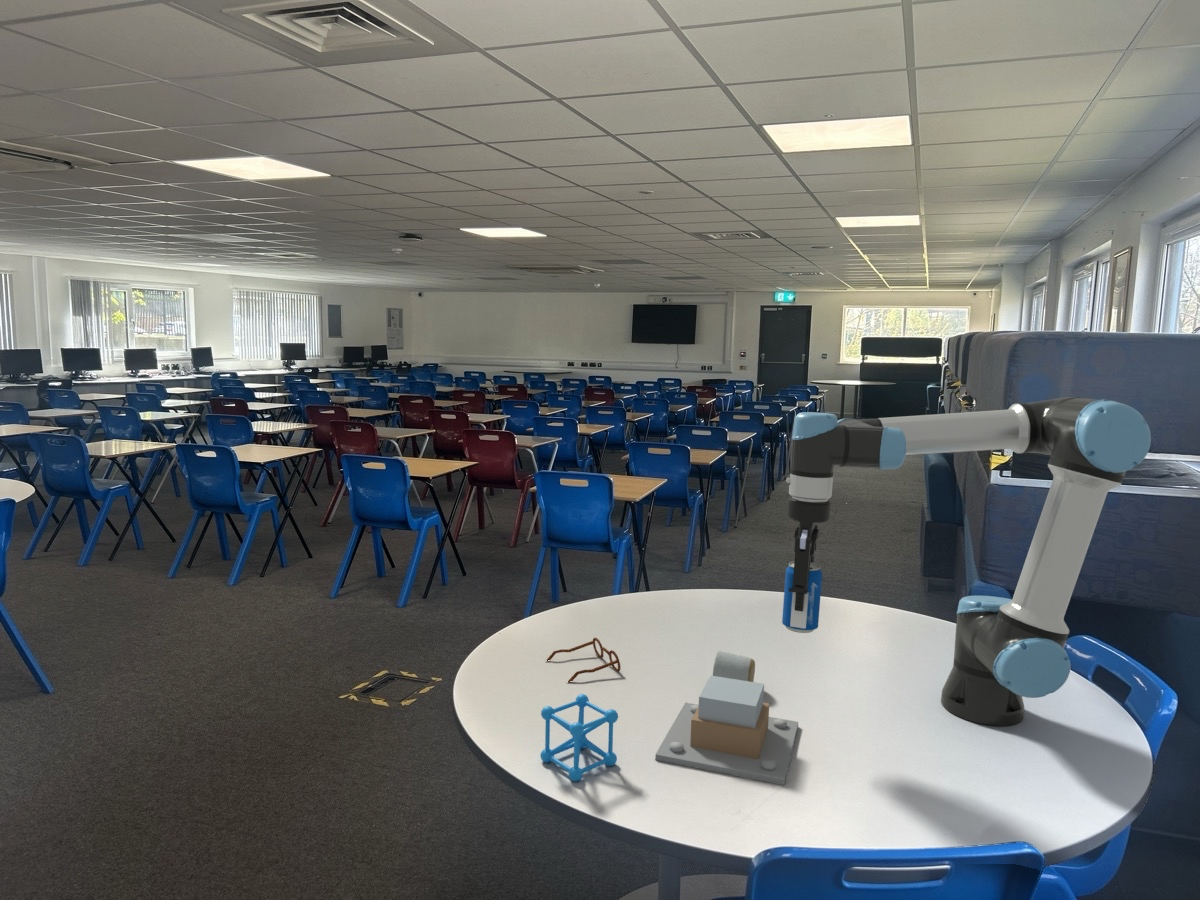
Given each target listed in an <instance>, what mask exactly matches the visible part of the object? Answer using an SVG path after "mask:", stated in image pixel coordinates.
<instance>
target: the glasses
mask: <svg viewBox="0 0 1200 900" xmlns="http://www.w3.org/2000/svg"><path fill="white" fill-rule="evenodd" d="M596 642H597V644H598V646H599V648H600V653H599V652H598V650H597V645H596ZM591 645H593V650H594V652H595V654H596V656H597V655H598V656H597V657H599V656H600V657H601V658H600V657H599V658H600V659H602V658H604V652H605V653H606V654H607V655H608V657H609V658H608V659H609V662H607V663H605V664H602V665H599V666H597V667H594V668H590V669H582V670H581V669H580V670H578V671H575V673H574V674H573V675H572V676H571V677H569V679H568V680H567V681H568V682H570V681H572V682H573V681H574V680H575V679H576V678H577V677H578V675H581V674H585V673H586V674H587V673H589V674H590V673H594V672H598V671H600V670H603V669H605V668H608V667H612V668H614V669H613V670H615V671H616V672H617V671H618V672H621V662H620V659H619V656H618V654H617V653H616V652H615V651H614V650H608V649H607V648H606V647H604V646H603V645H602V643H601V641H600V639H599V638H598V637H593V639H592V640H591V641H588V642H585V643H582V644H580V645H578V646H574V647H571V648H569V649H568V648H567V649H563V648H562V649H557V650H553V652H552V653H551V654H550V655H549V657H547V659H546V660H547V661H548V660H550V661H551V660H552V659H553V658H554V656H555V655H556V654H559V653H571V652H574V651H577V650H580V649H583V648H585V647H588V646H591ZM612 655H613V656H614V657H615V660H613V658H612ZM615 664H617V667H616V666H615Z"/></svg>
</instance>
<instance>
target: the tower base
mask: <svg viewBox="0 0 1200 900" xmlns="http://www.w3.org/2000/svg"><path fill="white" fill-rule="evenodd" d="M764 693H765V684H764V683H761V682H754V681H753V682H749V681H743V680H736V679H730V678H724V677H717V676H713V675H710V676H709V678H708V679H707V681H706V684H705V685H704V686H703V689H702V690H701V692H700V694H699V696H698V704H696V703H691V702H685V703H683V706H682V707H681V709H680V711H679V713H678V714H677V716H676V718H675V720H674V721H673V723H672V725H671V727H670V729H669V730H668V732H667V733H666V735H665V737H664V738H663V741H662V742H661V744H660V746H659V748H658V749H657V751H656V753H655V761H660V762H666V763H671V764H675V765H681V766H686V767H689V768H696V769H700V770H706V771H711V772H715V773H721V774H727V775H730V776H735V777H741V778H746V779H752V780H755V781H761V782H767V783H771V784H776V785H779V786H780V785H782V786H785V784H786V783H785V782H786V779H787V774H788V771H789V766H790V762H791V758H792V754H793V750H794V744H795V741H796V738H797V737H796V736H797V732H798V728H799V721H795V720H791V719H784V718H779V717H778V718H777V717H773V716H770V714H769V713H770V703H769V702H764V699H765V697H764V695H765V694H764Z"/></svg>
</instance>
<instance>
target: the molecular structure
mask: <svg viewBox="0 0 1200 900" xmlns="http://www.w3.org/2000/svg"><path fill="white" fill-rule="evenodd" d="M575 706H577V707H579V709H578V721H577V722H573V723H570V722H568V721H567V720H565V719H563V718H561V716H558V715H556V714H555V713H559V712H562V711H564V710H567V709H569V708H572V707H575ZM586 707H588V708H590V709H592V710H594V711H596V712H597V713H600V714H602V715H603V716H602V717H600V718H597V719H595V720H591V721H589V722H586V723H585V722H584V721H585V708H586ZM540 715H541V718H542V719H543V720H545V727H544V728H545V731H544V733H545V734H544V735H545V737H544V738H545V740H544V741H545V743H544V747H545V748H543V750H541V752H540V755H539V756H540V760H541V761H542V762H543V763H547V764H549V763H551V762H552V763H554V764H556V765H558V767H561V768H562V769H563V770H564V771H566V772H568V777H569V779H570V780H571V781H572V782H579V781H580V780H582V779H583V775H584V773H586V772H589V771H592V770H593V769H596V768H597V767H600V766H602V765H606V766H608V767H612V766H614V765H616V763H617V761H618V758H617V757H618V756H617V754H616V753H615V752H614V750H613V748H614V747H613V743H614V741H613V740H614V724H615V723H616V722H617V721H618V719H619V714H618V712H617V710H615V709H613V708H610V709H607V710H605V709H603V708H601V707H600V706H597V705H596V704H594V703H592V702H590V701H589V697H588V696H587V694H584V693H579V694H578V695H576V697H575V701H571V702H568V703H565V704H562V705H560V706H558V707H554V708H553V706H550V705H546V706H544V707H543V708H542V709H541V712H540ZM551 720H553V721H554V722H555V723H557V725H560V726H561V727H562V728H563V729H565V730H566V731H568V732H569V734H570V735H571V738H569V739H567V740H565V741H564V742H562V743H561V744H560V745H558V746H556V747H554V748H553V749H551V748H550V736H551V735H550V732H551V729H550V727H551ZM606 723H608V740H607V741H608V746H607V747H608V751H607V752H606V751H604V750H602V749H601V748H600V747H598V746H597V745H596V744H595V743H593V742H591V741H590V740H589V739H588V738H587V736H586V735H587V734H589V733H590V732H592V731H593V730H595V729H598V728H599V727H600V726H602V725H604V724H606ZM572 748H573V766H572V767H570V766H568V764H566V763H564V762H562V761H561V760H559V759H558V758H556V757H555V755H558V754H560V753H562V752H565V751H567V750H570V749H572ZM585 748H587V749H588V750H590V751H592V752H594V753H595V754H597V755H599V756H600V757H602V758H603V759H601V760H599V761H598V760H597V762H593V763H592V764H589V765H587V766H585V767H580V766H579V765H580V756H581V755H580V754H581V753H580V752H581V750H583V749H585Z"/></svg>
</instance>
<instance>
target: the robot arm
mask: <svg viewBox="0 0 1200 900" xmlns="http://www.w3.org/2000/svg"><path fill="white" fill-rule="evenodd" d="M837 416H838V415H836V414H834V413H828V412H815V411H807V412H806V411H805V412H799V413H797V415H796V416H795V417H794V423H793V429H792V430H793V431H792V436H791V453H790V454H791V455H790V471H789V472H790V473H789V474H790V475H789V477H786V479H785V482H786V483H787V484H789V485H788V494H789V496H790V497H789V498H787V509H786V510H787V511H786V516H787V518H788V519H790V520H792V521H797V522H798V523H799V526H797V527H796V529H795V530H794V536H793V537H794V542H795V543H794V550H793V551H794V560H793V561H794V573H793V585H792V588H789V592H793V594H792V608H791V621H790V626H791V627H798V628H804V629H806V619H807V606H808V593H809V592H808V581H809V572H810V562H811V563H815V557H816V550H817V547H818V539H819V536H820V535H819V534H820V533H819V532H820V529H819V527H818V524H823V523H826V522H829V520H830V516H831V504H832V502H831V501H830V500H829V499H830V498H832V495H833V483H834V482H833V481H834V469H835V467H836V468H843V467H844V468H860V469H875V470H880V471H883V470H896V469H897V470H898V469H899V468H900V467H902V465H903V464H904V462H905V459H906V456H909V455H927V454H943V453H946V454H947V453H961V452H962V453H963V452H980V451H994V450H996V451H997V450H1011V451H1013V452H1014V454H1015V453H1016V454H1032V453H1033V454H1042V455H1046V456H1050V457H1049V460H1048V463H1047V467H1048V469H1049V470H1050V472H1051V474H1052V476H1053V478H1052V481H1051V484H1050V487H1049V490H1048V493H1047V495H1046V499H1045V502H1044V505H1043V507H1042V510H1041V514H1040V517H1039V519H1038V522H1037V525H1036V528H1035V532H1034V535H1033V536H1032V537H1033V538H1032V540H1031V543H1030V546H1029V549H1028V552H1027V555H1026V558H1025V561H1024V564H1023V565H1022V566H1023V567H1022V570H1021V573H1020V575H1019V579H1018V581H1017V585H1016V588H1015V590H1014V594H1013V596H1012V599H1011V598H1006V597H1002V596H1001V597H999V596H992V595H968V596H964V597H961V599H959V600H958V601H959V602H958V606H957V611H956V622H955V623H956V627H955V639H954V653H953V664H952V665H953V666H952V668H951V670H950V672H949V673H948V677H947V679H946V681H945V683H944V685H943V686H942V689H941V697H940V703H941V705H942V707H943V708H944V709H945V710H946V711H947V712H950V713H951V714H953V715H954V716H957V717H959V718H962V719H964V720H966V721H969V722H973V723H977V724H980V725H981V724H983V725H988V726H989V725H990V726H998V727H999V726H1000V727H1002V726H1004V727H1005V726H1007V727H1008V726H1014V725H1017V724H1019V723H1021V722H1022V721H1023V720H1024V719H1025V718H1024V716H1025V703H1024V698H1030V699H1036V698H1044V697H1046V696H1048V695H1050V694H1053V693H1055V692H1056V691H1058V690H1059V689H1061V687H1063V685H1065V683H1066V682H1067V680H1068V678H1069V676H1070V673H1071V661H1070V658H1069V655H1068V653H1067V650H1066V649H1064V648H1065V645H1066V643H1067V640H1068V637H1069V634H1070V629H1069V627H1068V625H1067V623H1066V622H1065V620H1064V619H1065V615H1066V612H1067V610H1068V606H1069V604H1070V601H1071V597H1072V595H1073V592H1074V589H1075V587H1076V583H1077V580H1078V578H1079V575H1080V573H1081V569H1082V567H1083V564H1084V561H1085V559H1086V555H1087V553H1088V549H1089V547H1090V544H1091V540H1092V538H1093V535H1094V533H1095V532H1094V531H1095V529H1096V527H1097V523H1098V521H1099V517H1100V515H1101V512H1102V510H1103V506H1104V504H1105V501H1106V498H1107V495H1108V493H1109V492H1110V491H1111V490H1113V489H1115V488H1118V487H1120V486H1122V483H1123V481H1124V478H1125V475H1126V472H1127V471H1130V470H1132V469H1133V468H1135V467H1136V466H1138V465H1140V464H1141V463H1142V462H1143V460H1145V458H1146V457H1147V456H1148V453H1149V451H1150V447H1151V442H1152V438H1151V437H1152V435H1151V434H1152V433H1151V430H1150V427H1149V424H1148V422H1147V421H1146V419H1145V418H1144V416H1143V414H1141V413H1140V412H1139V410H1137V409H1135V408H1134V407H1132V406H1130V405H1127V404H1125V403H1121V402H1119V401H1115V400H1108V399H1095V398H1086V397H1085V398H1084V397H1079V396H1068V397H1067V396H1066V397H1060V398H1059V397H1058V398H1052V399H1047V400H1040V401H1039V400H1038V401H1032V402H1022V403H1013V404H1011V406H1009V408H1008V409H999V410H997V409H996V410H982V411H967V412H966V411H965V412H952V413H938V414H937V413H936V414H921V415H908V416H907V415H906V416H905V415H904V416H891V417H878V418H861V419H856V418H852V417H848V418H841V419H838V417H837ZM816 523H817V524H816ZM800 585H801V586H800Z"/></svg>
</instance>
